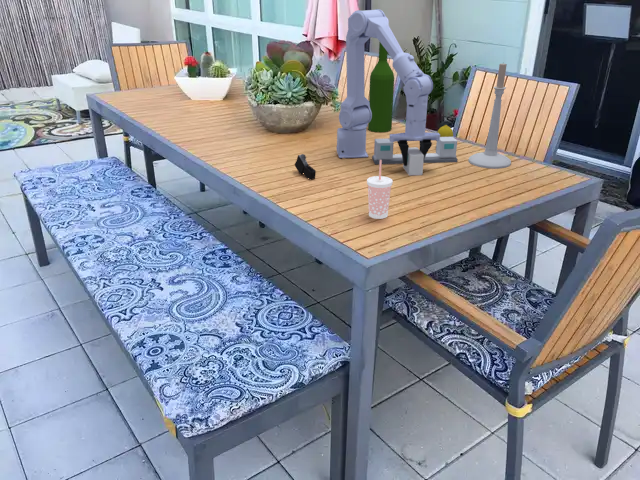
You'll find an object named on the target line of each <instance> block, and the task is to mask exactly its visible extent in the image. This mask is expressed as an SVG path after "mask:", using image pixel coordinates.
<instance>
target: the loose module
mask: <svg viewBox="0 0 640 480" xmlns="http://www.w3.org/2000/svg"><path fill="white" fill-rule="evenodd" d="M423 161H424V155H423V154H422V152H421V151H420V148H418V147H409V148H408V154H407V166H404V165H403V164H402V168H403V169H404V171H405V172H406V174H407V175H408V176H423V170H424V163H423Z"/></svg>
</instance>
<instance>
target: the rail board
mask: <svg viewBox="0 0 640 480" xmlns="http://www.w3.org/2000/svg"><path fill="white" fill-rule="evenodd" d="M389 138H390V137H389ZM389 138H374V148H373V154H372V155H371V156H372V157H371V158H372V161H373V163H374V165H379V164H380V160H382V164H381V165H399V164H400V165H401V164H402V165H403V158H402V154H401V153H397V154H396V153H395V154H394V144H395V142H390V141H389ZM457 147H458V140H457V139H456V138H455V137H454V136H453V137H440V141H436V145H435V152H433V153H432V152H430V153H428V152H427V154H426V156H425V158H424V161H423V164H433V163H434V164H435V163H436V164H437V163H458V158H457V149H458V148H457Z"/></svg>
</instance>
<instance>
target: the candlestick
mask: <svg viewBox="0 0 640 480" xmlns="http://www.w3.org/2000/svg"><path fill="white" fill-rule="evenodd" d="M507 65H508V64H507V63H499V64H498V74H497V80H496V86H493V89H494V94H495V99H494V102H493V108H492V112H491V113H492V114H491V116H490V117H491V119H490V122H489V128H488V134H487V138H486V144H485V149H484V151H483V152H482V151H481V152H477V153H474V154H472V155H470V156H469V157H468V163H469V164H471V165H473V166H475V167H477V168H483V169H492V170H493V169H497V170H498V169H504V168H508V167H510V166H511V165H512V160H511V159H510V158H509V157H507V156H506V155H504V154H502V153H498V143H499V142H498V141H499V133H500V132H499V131H500V121H501V109H502V97H503V95H504V93H505V90H506V89H507V87H506V86H504V85H505V78H506V73H507V72H506V71H507V67H508V66H507Z"/></svg>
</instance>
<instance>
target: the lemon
mask: <svg viewBox="0 0 640 480" xmlns="http://www.w3.org/2000/svg"><path fill="white" fill-rule="evenodd" d="M453 131H454V130H453V129H452V128H451V127H450V126H448V125H447V124H444V125H443V126H440V127H439V129H437V132H436V133H439V134H440V137H453V138H454V132H453Z"/></svg>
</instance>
